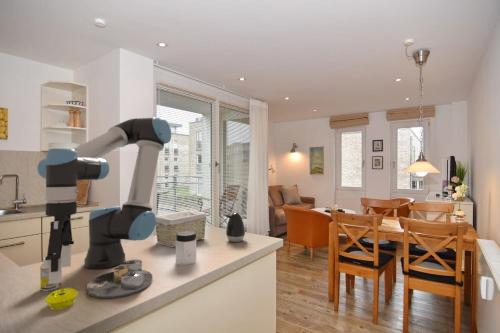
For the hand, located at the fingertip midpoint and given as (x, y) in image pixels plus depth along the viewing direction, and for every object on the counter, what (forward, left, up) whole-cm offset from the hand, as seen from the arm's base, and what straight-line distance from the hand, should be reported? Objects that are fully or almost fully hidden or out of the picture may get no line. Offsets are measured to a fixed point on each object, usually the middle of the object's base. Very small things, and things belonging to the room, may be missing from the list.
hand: (60, 274), depth 79 cm
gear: (0, 0, -9) cm, 9 cm away
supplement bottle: (-14, +6, -9) cm, 18 cm away
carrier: (+6, +16, -9) cm, 20 cm away
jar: (+14, +43, -9) cm, 47 cm away
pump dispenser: (+21, +79, -9) cm, 83 cm away
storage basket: (-7, +69, -9) cm, 70 cm away
